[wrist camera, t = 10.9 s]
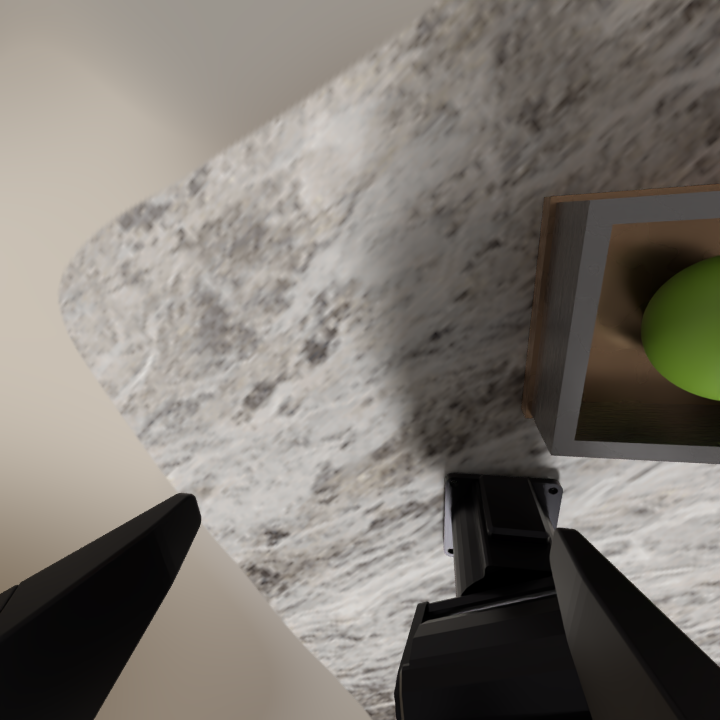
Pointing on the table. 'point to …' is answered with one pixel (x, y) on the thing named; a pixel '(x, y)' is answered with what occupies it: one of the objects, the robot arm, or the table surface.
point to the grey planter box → (615, 325)
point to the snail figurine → (687, 329)
